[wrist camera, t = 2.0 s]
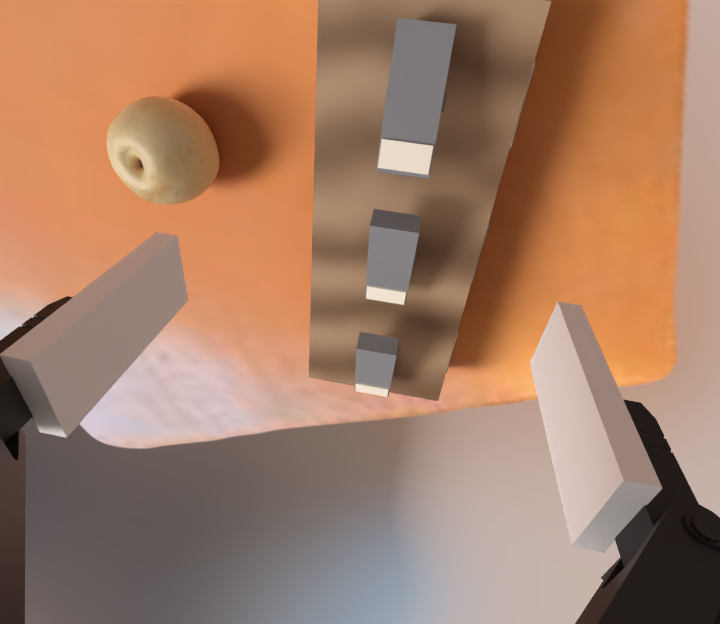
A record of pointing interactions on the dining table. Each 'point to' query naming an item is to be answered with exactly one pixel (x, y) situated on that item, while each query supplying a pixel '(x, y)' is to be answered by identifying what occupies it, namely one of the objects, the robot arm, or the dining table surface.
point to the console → (408, 194)
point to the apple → (163, 150)
